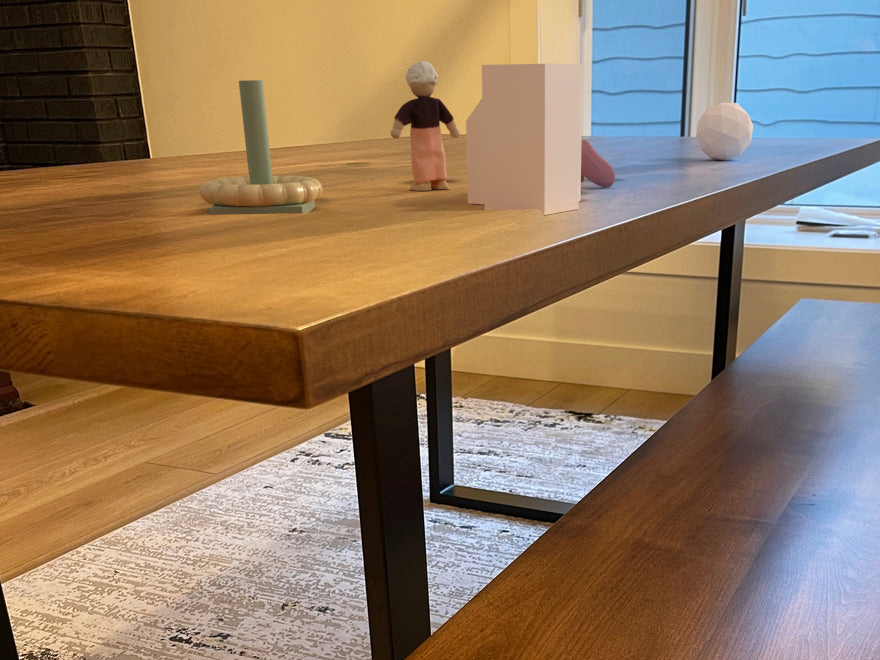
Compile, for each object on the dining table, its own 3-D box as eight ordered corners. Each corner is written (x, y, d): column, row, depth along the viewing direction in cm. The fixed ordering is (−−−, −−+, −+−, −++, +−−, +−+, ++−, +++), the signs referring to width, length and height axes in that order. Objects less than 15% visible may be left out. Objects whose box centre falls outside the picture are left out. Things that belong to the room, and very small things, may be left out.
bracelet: (187, 208, 85) (184, 186, 85) (219, 195, 95) (216, 175, 94) (311, 207, 85) (309, 185, 85) (330, 193, 95) (328, 174, 94)
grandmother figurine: (444, 185, 111) (439, 61, 106) (465, 188, 109) (461, 60, 104) (386, 190, 107) (378, 61, 102) (407, 193, 104) (400, 60, 99)
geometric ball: (733, 181, 141) (755, 134, 135) (681, 159, 142) (700, 112, 135) (746, 150, 145) (768, 103, 139) (696, 128, 146) (715, 81, 139)
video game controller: (543, 195, 115) (519, 138, 111) (574, 175, 116) (551, 118, 112) (588, 204, 107) (563, 143, 103) (621, 182, 108) (598, 120, 104)
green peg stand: (209, 219, 86) (191, 80, 82) (229, 208, 93) (213, 80, 89) (303, 218, 86) (290, 79, 82) (315, 207, 94) (304, 79, 89)
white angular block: (544, 215, 87) (545, 63, 82) (445, 206, 93) (440, 65, 88) (609, 203, 94) (613, 64, 90) (514, 196, 101) (513, 65, 96)
